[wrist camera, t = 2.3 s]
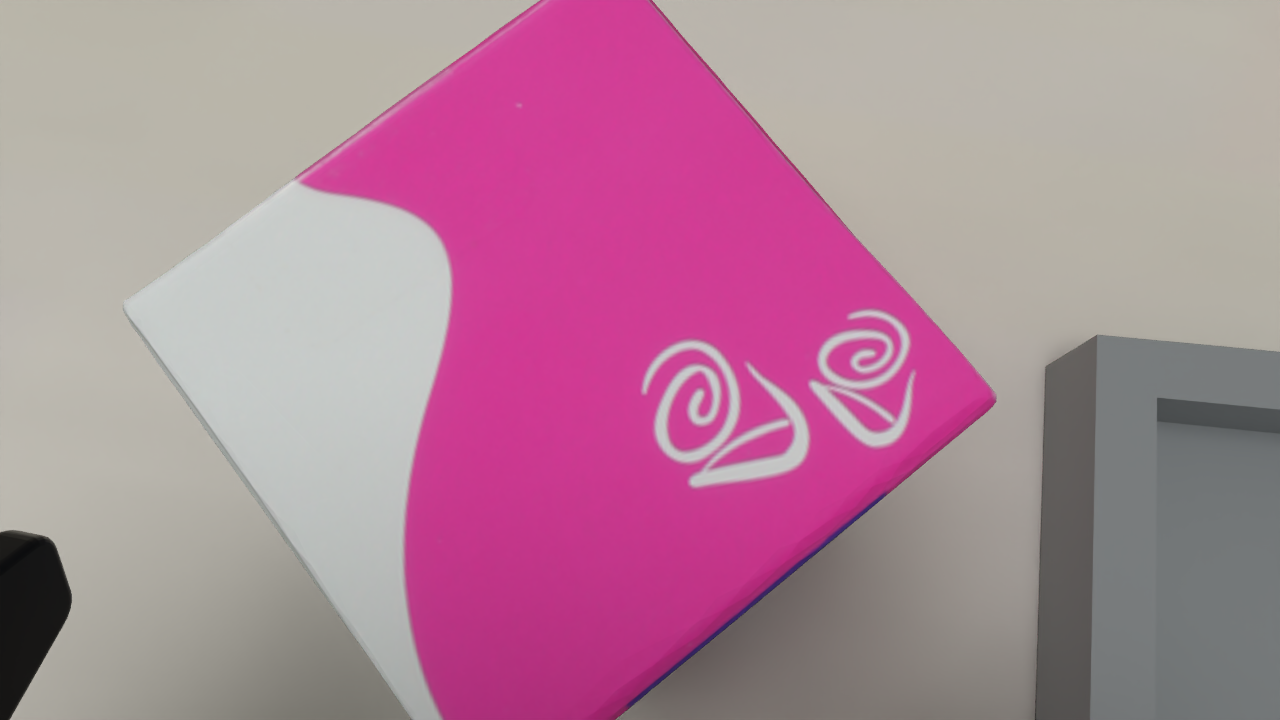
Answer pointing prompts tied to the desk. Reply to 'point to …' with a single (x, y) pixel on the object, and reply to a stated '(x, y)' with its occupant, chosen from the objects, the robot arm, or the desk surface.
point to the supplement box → (554, 368)
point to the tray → (1160, 533)
